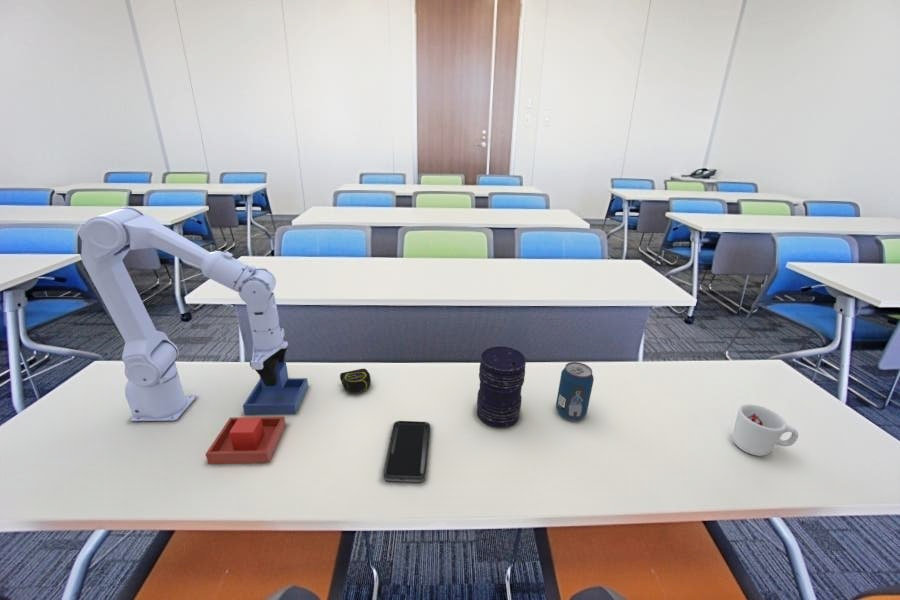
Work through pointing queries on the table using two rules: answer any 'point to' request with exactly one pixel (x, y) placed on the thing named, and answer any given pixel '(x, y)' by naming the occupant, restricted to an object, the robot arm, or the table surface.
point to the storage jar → (500, 386)
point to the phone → (407, 452)
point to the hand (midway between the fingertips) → (274, 378)
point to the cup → (760, 430)
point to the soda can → (574, 391)
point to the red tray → (225, 454)
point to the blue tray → (276, 398)
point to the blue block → (278, 377)
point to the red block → (247, 433)
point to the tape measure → (355, 380)
